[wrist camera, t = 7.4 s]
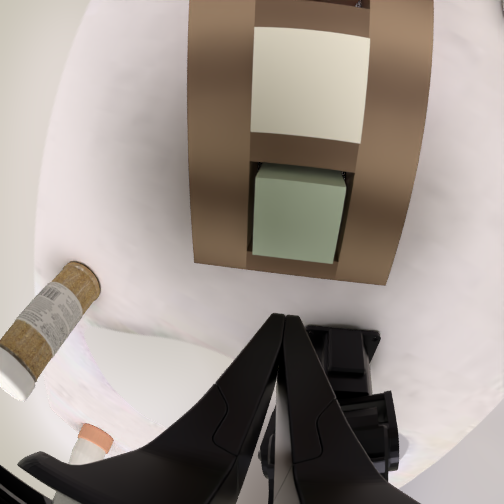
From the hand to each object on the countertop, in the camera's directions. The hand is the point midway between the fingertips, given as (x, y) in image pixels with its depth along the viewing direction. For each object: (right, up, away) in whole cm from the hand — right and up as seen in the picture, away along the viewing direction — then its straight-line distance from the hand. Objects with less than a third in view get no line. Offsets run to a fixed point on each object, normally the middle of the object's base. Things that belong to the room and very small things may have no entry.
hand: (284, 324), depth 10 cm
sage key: (+2, +5, +9) cm, 10 cm away
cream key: (+2, +10, +3) cm, 11 cm away
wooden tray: (+2, +12, +6) cm, 13 cm away
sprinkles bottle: (-17, 0, +18) cm, 24 cm away
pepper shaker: (-33, -36, +43) cm, 65 cm away
